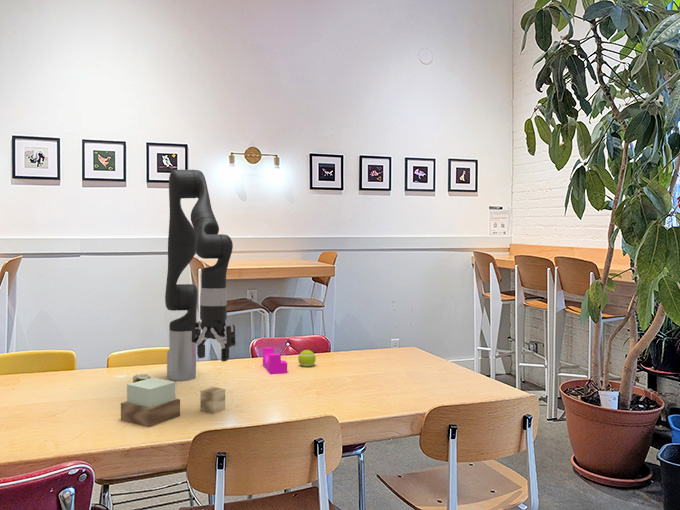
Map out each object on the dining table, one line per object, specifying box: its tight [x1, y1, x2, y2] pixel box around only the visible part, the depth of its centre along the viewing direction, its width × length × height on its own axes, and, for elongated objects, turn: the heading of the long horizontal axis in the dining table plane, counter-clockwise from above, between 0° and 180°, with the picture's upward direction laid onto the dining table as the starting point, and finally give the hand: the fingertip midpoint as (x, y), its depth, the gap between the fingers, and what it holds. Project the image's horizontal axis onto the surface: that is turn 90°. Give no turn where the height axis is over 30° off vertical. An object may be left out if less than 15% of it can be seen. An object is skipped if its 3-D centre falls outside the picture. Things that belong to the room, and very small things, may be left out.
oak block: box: [199, 386, 226, 415], centre depth 166 cm, size 5×5×6 cm
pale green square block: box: [126, 377, 177, 408], centre depth 158 cm, size 9×9×5 cm
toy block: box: [262, 346, 288, 375], centre depth 217 cm, size 15×6×8 cm, turn 18°
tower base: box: [120, 398, 181, 428], centre depth 159 cm, size 11×11×5 cm
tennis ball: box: [297, 349, 316, 368], centre depth 223 cm, size 7×7×7 cm
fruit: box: [132, 373, 152, 383], centre depth 177 cm, size 9×9×8 cm
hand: (213, 359), depth 166 cm, fingers open, 8 cm apart
